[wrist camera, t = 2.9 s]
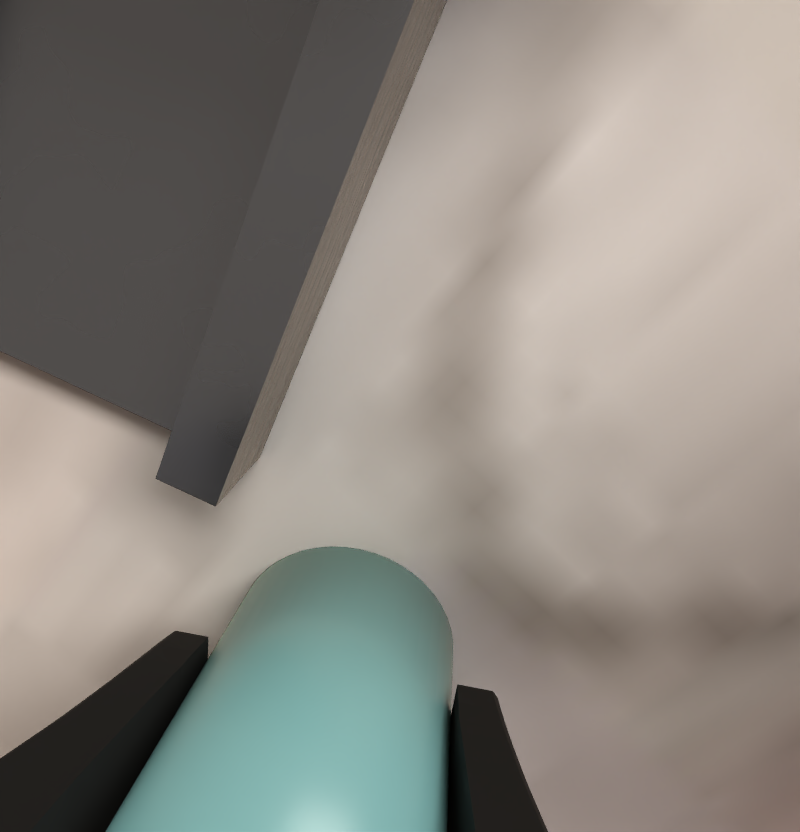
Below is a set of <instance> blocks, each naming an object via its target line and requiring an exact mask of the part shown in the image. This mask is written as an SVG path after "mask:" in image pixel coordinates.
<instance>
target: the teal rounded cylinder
mask: <svg viewBox="0 0 800 832" xmlns="http://www.w3.org/2000/svg"><path fill="white" fill-rule="evenodd" d="M452 667H453V639H452V632H451V628H450V625H449V622H448V618H447V616H446V614H445V612H444V610H443V608H442V606H441V604H440V603H439V601H438V600H437V598H436V597H435V595H434V594H433V593H432V592H431V591H430V589H429V588H428V587H427V586H426V585H425V584H424V583H423V582H422V581H421V580H420V579H419V578H418V577H416V576H415V575H414V574H413V573H411V572H410V571H408V570H407V569H406V568H404V567H403V566H401V565H399V564H397V563H395V562H393V561H392V560H390V559H388V558H385V557H382V556H380V555H377V554H375V553H371V552H368V551H364V550H360V549H353V548H347V547H322V548H314V549H309V550H304V551H301V552H298V553H295V554H292V555H289V556H287V557H285V558H283V559H282V560H280V561H278V562H276V563H275V564H273V565H272V566H271V567H269V568H268V569H267V570H266V571H265V572H263V573H262V574H261V575H260V576H259V577H258V579H257V580H256V581H255V582H254V584H253V585H252V586H251V588H250V590H249V591H248V593H247V595H246V596H245V598H244V600H243V601H242V603H241V605H240V606H239V608H238V610H237V611H236V613H235V615H234V617H233V618H232V620H231V622H230V623H229V625H228V627H227V628H226V630H225V632H224V633H223V635H222V637H221V638H220V640H219V642H218V643H217V645H216V647H215V648H214V650H213V652H212V653H211V655H210V657H209V659H208V660H207V662H206V664H205V665H204V667H203V669H202V670H201V672H200V674H199V675H198V677H197V679H196V680H195V682H194V684H193V685H192V687H191V689H190V690H189V692H188V694H187V695H186V697H185V699H184V700H183V702H182V704H181V706H180V707H179V709H178V711H177V712H176V714H175V716H174V717H173V719H172V721H171V722H170V724H169V726H168V727H167V729H166V731H165V732H164V734H163V736H162V737H161V739H160V741H159V742H158V744H157V746H156V747H155V749H154V751H153V753H152V754H151V756H150V758H149V759H148V761H147V763H146V764H145V766H144V768H143V769H142V771H141V773H140V774H139V776H138V778H137V779H136V781H135V783H134V784H133V786H132V788H131V789H130V791H129V793H128V795H127V796H126V798H125V800H124V801H123V803H122V805H121V806H120V808H119V810H118V811H117V813H116V815H115V816H114V818H113V820H112V821H111V823H110V825H109V826H108V828H107V830H106V831H105V832H447V822H448V791H449V756H450V725H451V698H452Z"/></svg>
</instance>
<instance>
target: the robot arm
mask: <svg viewBox="0 0 800 832" xmlns="http://www.w3.org/2000/svg"><path fill="white" fill-rule="evenodd" d="M207 660H208V637H205V636H200V635H195V634H190V633H184V632H179V631H175V632H173V633H172V634H170V635H169V636H167V637H166V638H165V639H163V640H162V641H161V642H159V643H158V644H157V645H156V646H154V647H153V648H152V649H150V650H149V651H148V652H147V653H145V654H144V655H143V656H141V657H140V658H139V659H138V660H136V661H135V662H134V663H132V664H131V665H130V666H129V667H127V668H126V669H125V670H123V671H122V672H121V673H119V674H118V675H117V676H116V677H114V678H113V679H112V680H110V681H109V682H108V683H106V684H105V685H104V686H102V687H101V688H100V689H98V690H97V691H96V692H94V693H93V694H92V695H90V696H89V697H87V698H86V699H85V700H83V701H82V702H81V703H79V704H78V705H77V706H75V707H74V708H72V709H71V710H70V711H68V712H67V713H66V714H64V715H63V716H62V717H60V718H59V719H57V720H56V721H55V722H53V723H52V724H50V725H49V726H47V727H46V728H44V729H43V730H41V731H40V732H39V733H37V734H36V735H34V736H33V737H31V738H30V739H28V740H27V741H25V742H24V743H22V744H21V745H19V746H18V747H16V748H15V749H14V750H12V751H11V752H9V753H8V754H6V755H5V756H3V757H2V758H0V832H105V831H106V830H107V828H108V826H109V825H110V823H111V821H112V820H113V818H114V816H115V815H116V813H117V811H118V810H119V808H120V806H121V805H122V803H123V801H124V800H125V798H126V796H127V795H128V793H129V791H130V789H131V788H132V786H133V784H134V783H135V781H136V779H137V778H138V776H139V774H140V773H141V771H142V769H143V768H144V766H145V764H146V763H147V761H148V759H149V758H150V756H151V754H152V753H153V751H154V749H155V747H156V746H157V744H158V742H159V741H160V739H161V737H162V736H163V734H164V732H165V731H166V729H167V727H168V726H169V724H170V722H171V721H172V719H173V717H174V716H175V714H176V712H177V711H178V709H179V707H180V706H181V704H182V702H183V700H184V699H185V697H186V695H187V694H188V692H189V690H190V689H191V687H192V685H193V684H194V682H195V680H196V679H197V677H198V675H199V674H200V672H201V670H202V669H203V667H204V665H205V664H206V662H207ZM447 832H548V831H547V828H546V826H545V824H544V822H543V819H542V817H541V815H540V812H539V810H538V808H537V805H536V803H535V800H534V798H533V796H532V793H531V791H530V789H529V786H528V784H527V782H526V779H525V777H524V774H523V771H522V769H521V766H520V764H519V761H518V758H517V756H516V753H515V750H514V748H513V745H512V742H511V739H510V736H509V734H508V731H507V728H506V725H505V722H504V718H503V715H502V712H501V709H500V705H499V701H498V698H497V696H496V695H495V694H494V692H493V691H489V690H484V689H478V688H473V687H468V686H463V685H457V689H456V694H455V699H454V704H453V708H452V713H451V725H450V756H449V791H448V822H447Z"/></svg>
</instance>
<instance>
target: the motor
mask: <svg viewBox="0 0 800 832" xmlns="http://www.w3.org/2000/svg"><path fill="white" fill-rule="evenodd" d="M446 1H447V0H0V351H1V352H4V353H6V354H8V355H10V356H12V357H14V358H16V359H19V360H21V361H23V362H25V363H27V364H29V365H31V366H34V367H36V368H38V369H40V370H42V371H44V372H46V373H49V374H51V375H53V376H55V377H57V378H59V379H61V380H64V381H66V382H68V383H70V384H72V385H74V386H76V387H79V388H81V389H83V390H85V391H87V392H89V393H91V394H94V395H96V396H98V397H100V398H102V399H104V400H106V401H109V402H111V403H113V404H115V405H117V406H119V407H121V408H124V409H126V410H128V411H130V412H132V413H134V414H136V415H139V416H141V417H143V418H145V419H147V420H149V421H151V422H154V423H156V424H158V425H160V426H162V427H164V428H166V429H169V430H171V431H172V432H171V435H170V438H169V441H168V444H167V447H166V450H165V452H164V455H163V458H162V461H161V464H160V467H159V470H158V473H157V476H156V479H157V480H160V481H162V482H164V483H166V484H168V485H170V486H173V487H175V488H177V489H179V490H181V491H183V492H186V493H188V494H190V495H192V496H194V497H196V498H199V499H201V500H203V501H205V502H207V503H209V504H212V505H214V506H217V504H218V503H219V502H220V501H221V500H222V499H223V498H224V497H225V495H226V494H227V493H228V492H229V491H230V490H231V489H232V488H233V487H234V485H235V484H236V483H237V482H238V481H239V480H240V479H241V478H242V476H243V475H244V474H245V473H246V472H247V471H248V470H249V469H250V467H251V466H252V465H253V464H254V463H255V462H256V461H257V460H258V458H259V457H260V455H261V453H262V450H263V448H264V446H265V443H266V441H267V438H268V436H269V433H270V431H271V428H272V426H273V424H274V421H275V419H276V416H277V414H278V411H279V409H280V406H281V404H282V402H283V399H284V397H285V394H286V392H287V389H288V387H289V384H290V382H291V380H292V377H293V375H294V372H295V370H296V367H297V365H298V362H299V360H300V358H301V355H302V353H303V350H304V348H305V345H306V343H307V340H308V338H309V336H310V333H311V331H312V328H313V326H314V323H315V321H316V319H317V316H318V314H319V311H320V309H321V306H322V304H323V301H324V299H325V297H326V294H327V292H328V289H329V287H330V284H331V282H332V279H333V277H334V275H335V272H336V270H337V267H338V265H339V262H340V260H341V257H342V255H343V253H344V250H345V248H346V245H347V243H348V240H349V238H350V235H351V233H352V231H353V228H354V226H355V223H356V221H357V218H358V216H359V213H360V211H361V209H362V206H363V204H364V201H365V199H366V196H367V194H368V191H369V189H370V187H371V184H372V182H373V179H374V177H375V174H376V172H377V169H378V167H379V165H380V162H381V160H382V157H383V155H384V152H385V150H386V148H387V145H388V143H389V140H390V138H391V135H392V133H393V130H394V128H395V126H396V123H397V121H398V118H399V116H400V113H401V111H402V108H403V106H404V104H405V101H406V99H407V96H408V94H409V91H410V89H411V86H412V84H413V82H414V79H415V77H416V74H417V72H418V69H419V67H420V64H421V62H422V60H423V57H424V55H425V52H426V50H427V47H428V45H429V42H430V40H431V38H432V35H433V33H434V30H435V28H436V25H437V23H438V20H439V18H440V16H441V13H442V11H443V8H444V6H445V3H446Z"/></svg>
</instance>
